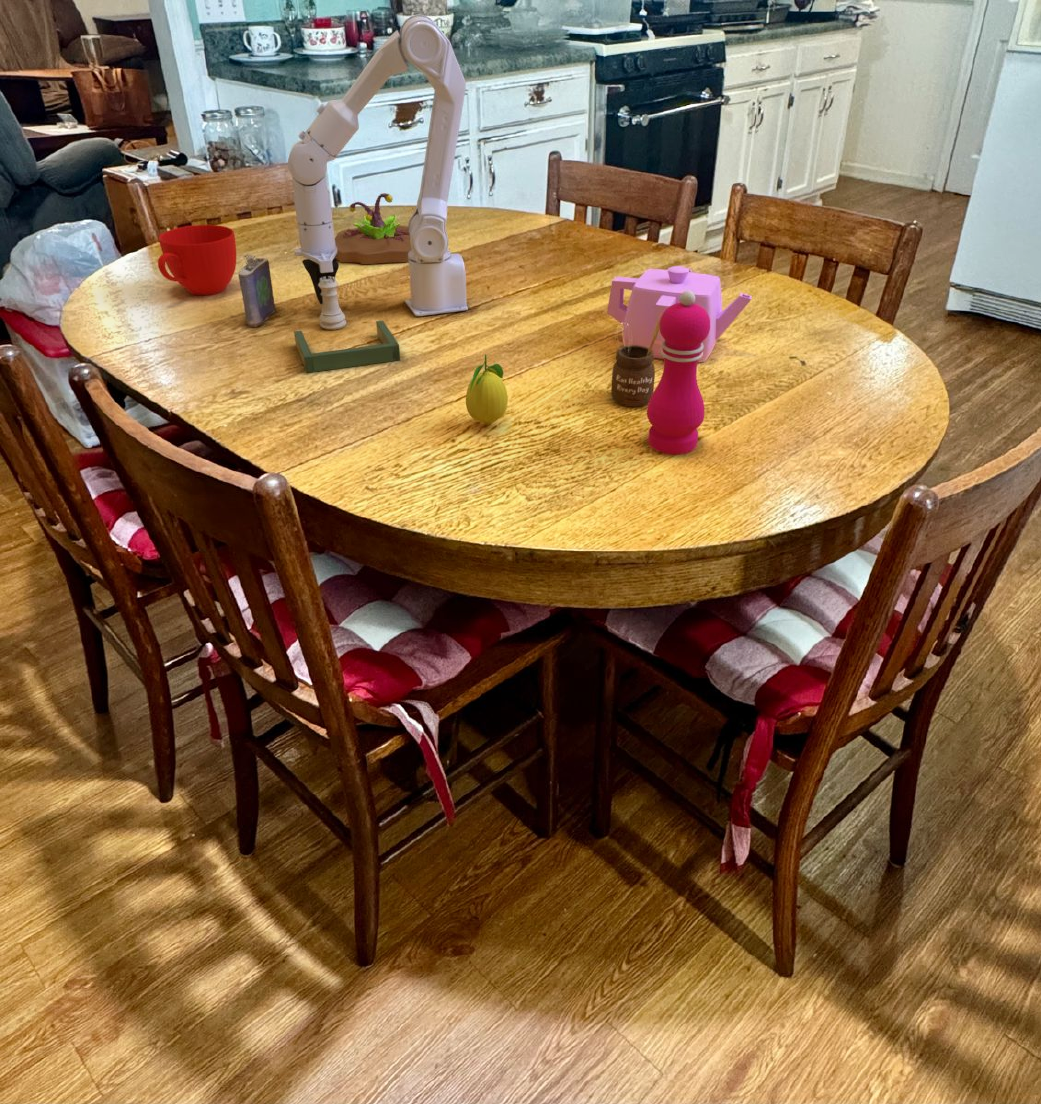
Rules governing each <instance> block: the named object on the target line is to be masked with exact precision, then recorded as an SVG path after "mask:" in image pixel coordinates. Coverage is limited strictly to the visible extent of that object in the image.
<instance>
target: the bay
mask: <svg viewBox="0 0 1041 1104" xmlns="http://www.w3.org/2000/svg"><path fill="white" fill-rule="evenodd" d="M375 325H376V336H377V337H378V339H379V341H380V342H381V343H380V344H374V345H373V344H372V345H366V346H359V347H351V348H350V347H349V348H343V349H335V350H329V351H319V352H313V353H312V351H311V349H310V347H309V345H308V343H307V340H306V338H305V336H304V332H303V331H302V330H295V331H293V336H294V341H295V342H294V343H295V347H296V351H297V352H298V355H299V357H300V360H301V362H302V365H303V367H304V370H305V372H306V374H310V373H316V372H324V371H332V370H339V369H346V368H352V367H360V366H368V365H375V364H381V363H389V362H396V361H401V352H400V344H399V343H398V341H397V340H396V338H395V337H394V335H393V334H392V332H391V330H390V329H389V328H388V326H387V324H386V322H385V321H384V320H377V321H376V322H375Z"/></svg>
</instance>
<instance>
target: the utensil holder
mask: <svg viewBox="0 0 1041 1104" xmlns="http://www.w3.org/2000/svg"><path fill="white" fill-rule="evenodd" d="M661 316H662V315H661ZM661 316H660V318H659V321H658V323H657V326H656V328H655V331H654V333H653V338H652V342H651V345H650V347H649V348H647V347H644V346H638V345H629V346H625V343H624V345H623V346H621V345H620V342H619V341H616V340H614V342H615V346H618V347H617V351H616V353H615V363H614V364H613V366H612V373H611V386H610V387H611V389H610V393H611V398H612V400H613V401H614V402H615V403H617V404H618V405H622V406H624V407H625V406H626V407H641V406H645V405H648V404H649V401H650V398H651V396H652V394H653V392H654V391H655V379H656V378H655V377H656V369H655V365H654V363H653V362H654V360H655V358H654V355H653V351H652V350H651V349H652V347H653V344H654V341H655V340H656V338H657V335H658V332H659V324H660V320H661ZM625 324H626V323H624V325H625ZM624 325H623V323H620V322H618V323H617V326H615V327H614V330H613V331H614V332H613V334H614V336H616V339H617V340H619V337H618V335H616V333H618V330H619V327H620V326H624ZM626 325H628V324H626ZM626 325H625V326H626ZM628 326H629V325H628ZM628 326H626V327H628ZM629 327H630V326H629ZM615 329H616V330H615ZM627 329H628V328H627ZM630 329H631V328H630ZM621 331H622V332H621V333H623V327H621ZM628 332H629V330H628ZM631 334H632V332H631ZM623 340H624V336H623V335H622V341H623ZM629 342H630V335H629Z"/></svg>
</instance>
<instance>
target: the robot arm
mask: <svg viewBox="0 0 1041 1104" xmlns="http://www.w3.org/2000/svg"><path fill="white" fill-rule="evenodd" d="M408 62H409V63H410V64H411V65H412V66H413V67H414V68H416V69H417V70H418V71H420V72H421V73H422V74H423V75H424V77H425V78H426V80H427V81H428V83H429V84H430V86H431V87H432V88H433V90H434V92H433V99H432V106H431V113H430V120H429V126H428V127H429V128H428V133H427V140H426V147H425V155H424V162H423V169H422V176H421V183H420V190H419V194H418V197H417V202H416V207H415V211H414V212H413V214H412V216H411V217H410V218H409V220H408V225H407V227H408V232H409V235H410V238H411V239H410V244H411V248H412V249H411V251H410V252H409V253H408V262H407V263H408V277H409V287H410V288H409V289H410V298H408V299H407V298H406V299H405V300H404V302H405V304H406V305H407V307H408V308H409V310H410V311H411V313H412V314H413V315H414V316H415V317H423V316H424V317H425V316H431V315H441V314H448V313H455V312H465V311H468V310H469V307H468V301H467V299H468V298H467V274H466V267H465V262H464V261H465V260H464V259H463V257H462V255H461V254H460V253H451V251H450V250H449V242H450V241H449V236H448V233H447V221H448V200H449V195H450V189H451V188H450V187H451V181H452V175H453V170H454V164H455V157H456V150H457V145H458V138H459V132H460V126H461V120H462V115H463V114H462V113H463V107H464V101H465V95H466V89H467V86H466V85H467V82H466V79H465V77H464V73H463V71H462V69H461V67H460V64H459V61H458V59H457V56H456V54H455V51H454V49H453V46H452V43H451V41H450V40H449V39H448V37H447V36H446V35H445V33H443V31H442V29H440V27H439V26H438V25H437V24H436V23H435V21H434V20H433V19H431V18H430V17H429V16H427V15H424V14H414V15H411V16H409V17H408V18H406V19H405V20H404V21H403V23H402V25H401V27H400V29H399V30H398V29H396V30H395V31H394V32H393V33H392V34H391V35H390V36H389V37H388V38H387V39H386V40H385V41H384V42H383V43H382V44H381V46H379V48H378V49H377V50H376V52H375V53H374V55H373V56H372V57H371V59H370V60H369V61H368V63H367V64H366V66H365V67H364V69H363V70H362V71H361V73H359V75H358V77H357V78H356V80H355V81H354V82H353V84H352V85H351V86H350V88H349V89H348V91H347V92H346V93H345V95H344V96H343V98H341V99H332V100H329V101H327V103H326V104H324V103H320V105H319V106H318V108H317V110H316V112H317V114H318V115H317V116H316V117H315V119H314V120H313V121H312V123H311V124H310V125H309V127H307V129H306V130H305V131H304V130H301V131H300V132H299V134H298V138H299V139H300V140H299V141H297V142H295V143H294V144H293V146H292V147H291V149H290V152H289V155H288V159H287V167H288V170H289V173H290V175H291V177H292V183H291V184H292V187H293V194H292V195H293V201H294V202H293V203H294V209H295V215H296V216H295V217H296V223H297V230H298V236H299V237H298V238H299V245H300V248H294V249H293V253H294V256H295V257H303V258H305V259H303V260H302V262H301V263H302V265H303V266H304V269H305V270H306V272H307V273H308V275H309V277H310V280H311V283H312V286H313V289H314V293H315V296H316V299H317V301H318V303H319V304H320V305H323V298H322V295H321V292H322V289H321V288H320V287H319V286H318V284H319V282H320V278H322V280H323V277H326V279H328V276H331V278H332V277H335V278H336V275H337V272H338V270H339V267H340V264H339V262H338V260H337V259H336V258H335V256H336V254H337V247H336V245H335V237H336V236H335V229H334V221H333V219H334V218H333V211H332V203H331V195H330V190H329V188H328V182H327V171H328V170H327V169H328V163H329V162H332V161H334V160H336V158H337V157H338V156H339V154H340V153H341V152H342V151H343V150H344V148H345V147H346V146H347V144H348V143H349V142H350V140H351V139H352V138H353V137H354V135H355V134H357V131H358V130H359V128H360V125H359V114H361V112H362V110H364V108H365V107H366V106H367V105H368V104H369V103H370V101H371V100H372V99H373V98H374V96H375V95H376V94H377V93H378V92H379V90H380V89H381V88H382V87H383V86H384V85H385V84H386V82H388V80H389V79H390V78H391V77H392V76H396V75H399V74H402V73H405V72H409V71H410V68H409V66H408Z"/></svg>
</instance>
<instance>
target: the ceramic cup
mask: <svg viewBox="0 0 1041 1104" xmlns="http://www.w3.org/2000/svg"><path fill="white" fill-rule="evenodd" d="M158 242H159V245H160V249H161V252H162V254H161V255H160V256H159V257H158V261H157V265H158V270H159V272H160V274H161V275H162V276H163V277H164V278H165V279H167V280H169V281H172V282H176V283H178V284H180V285H181V287H182V288H184V289H185V290H187V292H189V293H190V294H191V295H194V296H211V295H216V294H220V293H222V292H224V291H225V290H227V287H228V286H229V284H230V282H231V281H232V278H233V277H234V275H235V272H236V267H237V245H236V236H235V231H234V230H233V229H232V228H230V227H229V226H228V227H227V226H224V225H218V224H217V225H216V224H196V225H194V224H193V225H187V226H180V227H177V228H171V229H170V230H167V231H164V232H162V233H161V234H159V236H158ZM166 266H167V267H166ZM167 268H168V270H169V272H170V273H171V274H170V273H169V272H168V270H167Z"/></svg>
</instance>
